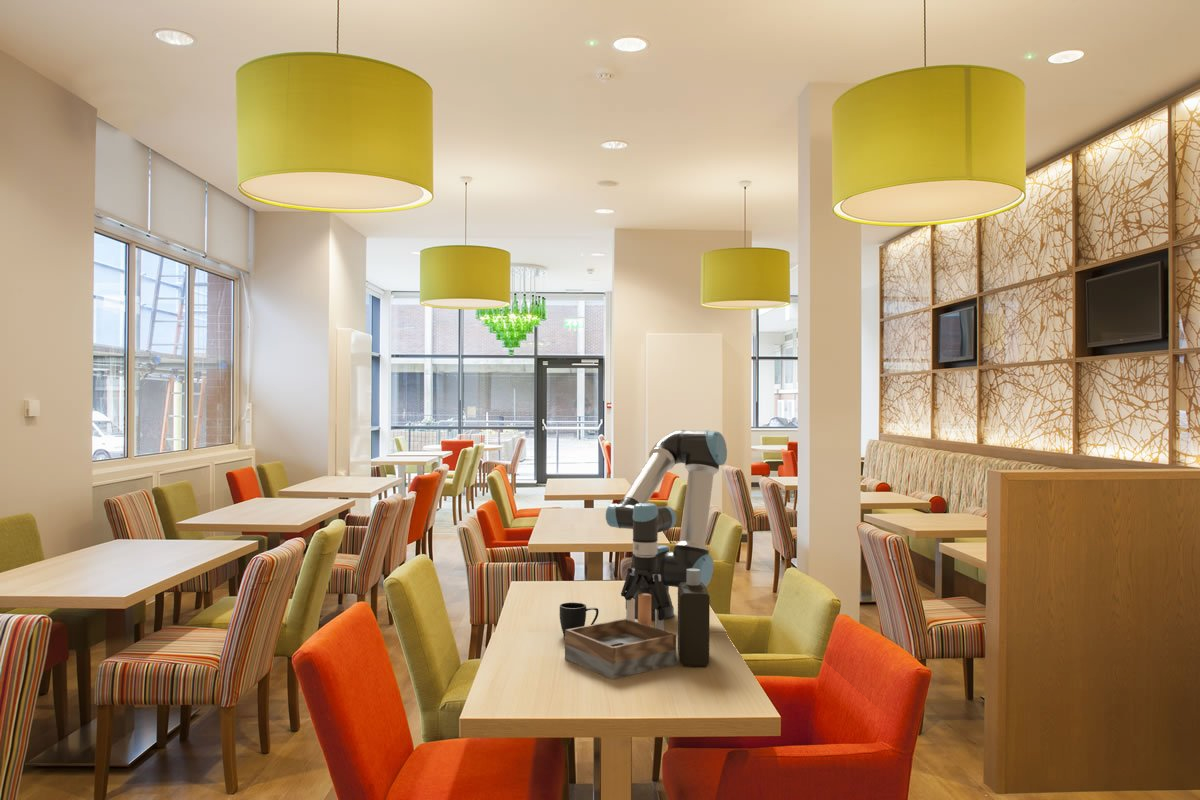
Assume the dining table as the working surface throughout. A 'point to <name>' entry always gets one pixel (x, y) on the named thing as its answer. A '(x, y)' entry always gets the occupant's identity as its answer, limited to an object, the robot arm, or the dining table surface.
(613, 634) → the crate
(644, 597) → the peg
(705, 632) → the bottle
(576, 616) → the mug
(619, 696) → the dining table surface
